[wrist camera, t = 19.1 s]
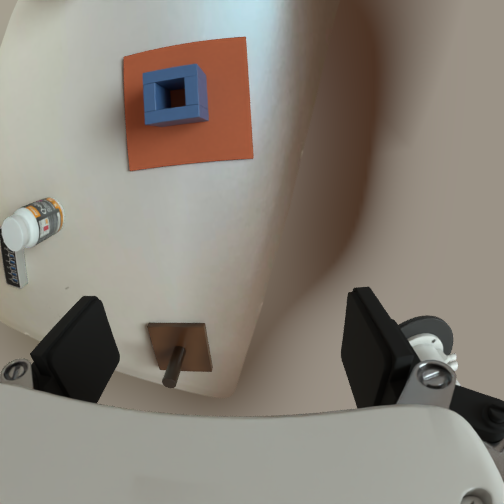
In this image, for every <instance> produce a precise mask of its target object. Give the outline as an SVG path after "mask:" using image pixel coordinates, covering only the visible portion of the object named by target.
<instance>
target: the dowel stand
mask: <svg viewBox="0 0 504 504" xmlns="http://www.w3.org/2000/svg"><path fill="white" fill-rule="evenodd" d="M147 328H148V331H149V335H150V338H151V342H152V345H153V349H154V352H155V355H156V359H157V362H158V365H159V368H160V370H166V372H165V375H164V377H163V380H162V383H163V385H164V386H166V387H168V388H174V387H175V386H176V384H177V380H178V377H179V374H180V371H201V372H212V368H213V366H212V361H211V355H210V350H209V344H208V338H207V332H206V327H205V323H149V325H148V326H147Z"/></svg>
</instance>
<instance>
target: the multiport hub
mask: <svg viewBox="0 0 504 504" xmlns="http://www.w3.org/2000/svg"><path fill="white" fill-rule="evenodd" d="M0 246H1V253H2V260H3V267H4V273H5V278H6V283H7V284H8V285H11V286H13V287H16V288H19V289H21V288H23V287H24V286H25V285H26V284H28V278H27V272H26V264H25V256H24V248H23V249H21V250H19V251H17V252H15V251H12V250H10V249H9V248H8V247H7V246H6V244H5V242H4V240H3V237H2V226H1V227H0Z"/></svg>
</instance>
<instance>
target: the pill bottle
mask: <svg viewBox="0 0 504 504" xmlns="http://www.w3.org/2000/svg"><path fill="white" fill-rule="evenodd" d="M64 218H65V216H64V211H63V208H62V206H61V204H60V203H59V202H58V201H57V200H56V199H54V198H50V197H49V198H45V199H42V200H39V201H36V202H34V203H31V204H28V205H26V206H23V207H21V208H19V209H17V210H16V211H15V212H14V214H13V215H12V216H10V217H8V218H6V219H5V220H4V222H3V224H2V237H3V240H4V242H5V244H6V246H7V247H8V248H9V249H10V250H12V251H15V252H17V251H19V250H21V249H23V248H24V247H25V248H31V247H33V246H35V245H37V244H38V243H40V242H42V241H43V240H45V239H47V238H49V237H50V236H52V235H54V234H56V233H57V232H59V231H60V230H61V229H62V227H63V225H64Z"/></svg>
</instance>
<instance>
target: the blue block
mask: <svg viewBox="0 0 504 504" xmlns="http://www.w3.org/2000/svg"><path fill="white" fill-rule="evenodd" d="M178 89H185V102H186V106H181V107H174V108H171V96H170V91H172V90H178ZM143 98H144V112H145V113H144V117H145V125H150V126H158V127H166V126H173V125H180V124H187V123H196V122H205V121H209V114H208V97H207V78H206V74H205V73H204V72H203V71H202V69H201V68H200V67H199V66H198V64H190V65H183V66H177V67H171V68H166V69H160V70H155V71H151V72H146V73H143Z"/></svg>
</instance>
